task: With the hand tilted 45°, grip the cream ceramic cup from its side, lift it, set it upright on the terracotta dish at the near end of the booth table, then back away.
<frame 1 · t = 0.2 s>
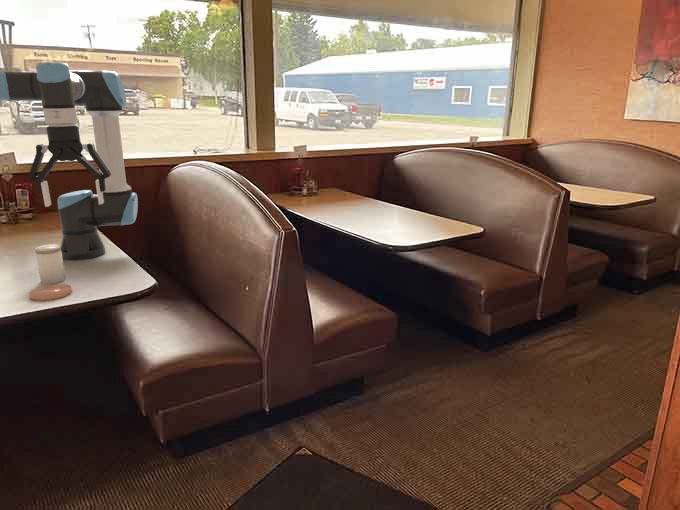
hand: (75, 204, 143), 28 cm above the table, tool pointing down, fingers open, 13 cm apart
cup: (53, 280, 165), on the table
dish: (51, 294, 154), on the table
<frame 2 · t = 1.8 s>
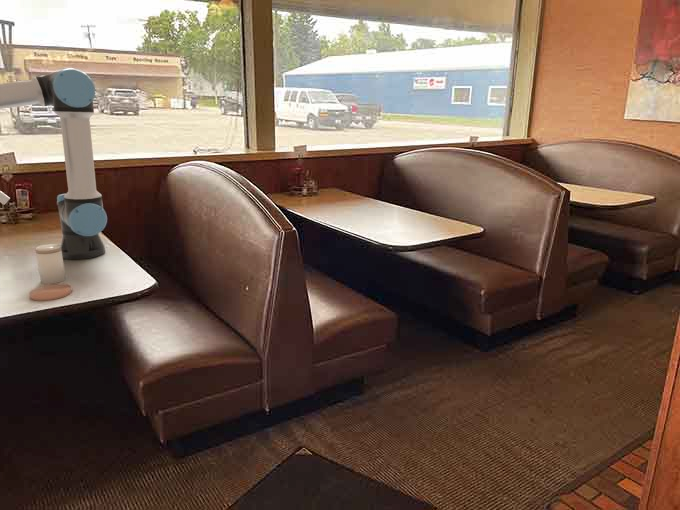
nothing on the table moved.
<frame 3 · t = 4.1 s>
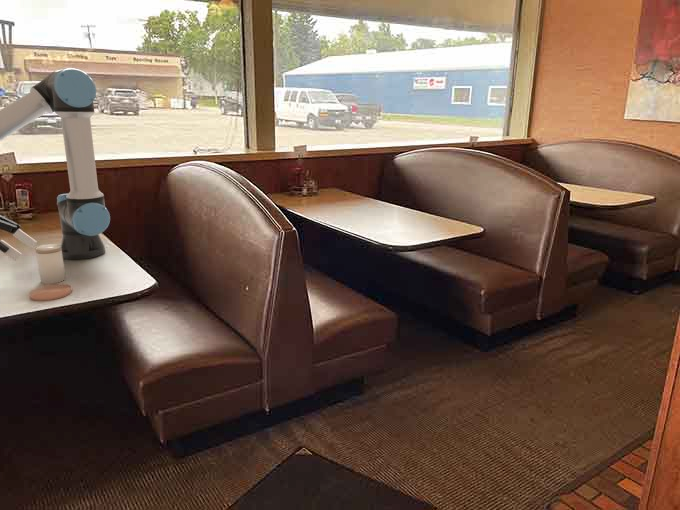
hand: (26, 251, 160), 10 cm above the table, tool tilted 45°, fingers open, 13 cm apart
nothing on the table moved.
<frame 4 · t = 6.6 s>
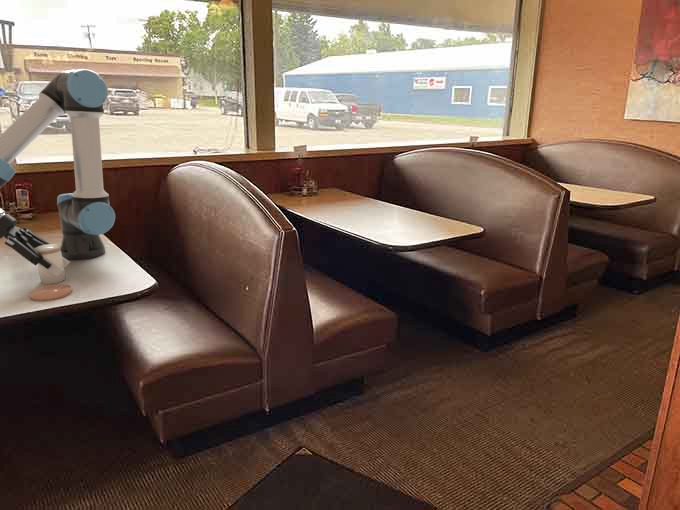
hand: (63, 269, 165), 4 cm above the table, tool tilted 45°, fingers closed on cup, 7 cm apart
cup: (53, 280, 165), on the table, touching gripper
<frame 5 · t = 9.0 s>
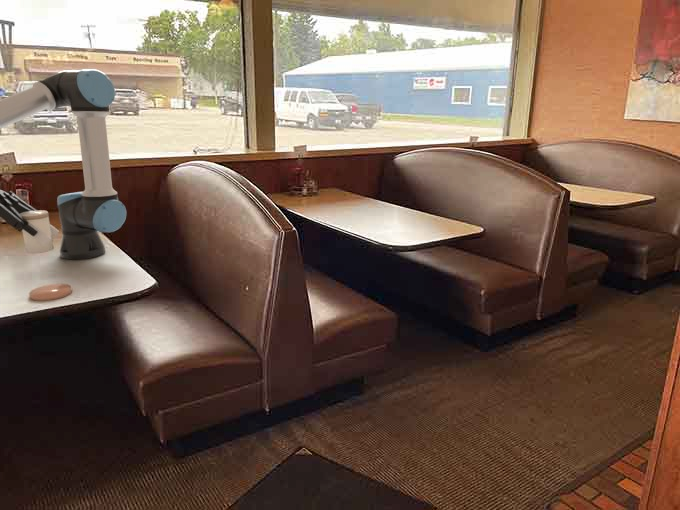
hand: (51, 237, 150), 17 cm above the table, tool tilted 45°, fingers closed on cup, 7 cm apart
cup: (40, 250, 150), point 13 cm above the table, touching gripper
when the fingers open (6 cm above the table, at t = 11.4 s): cup drops 1 cm, resting on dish.
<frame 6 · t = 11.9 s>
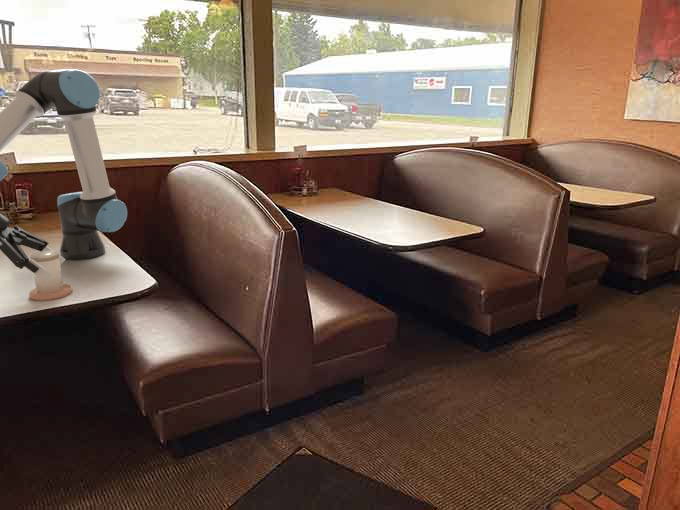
hand: (56, 269, 152), 7 cm above the table, tool tilted 45°, fingers open, 13 cm apart
cup: (50, 289, 154), point 1 cm above the table, touching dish
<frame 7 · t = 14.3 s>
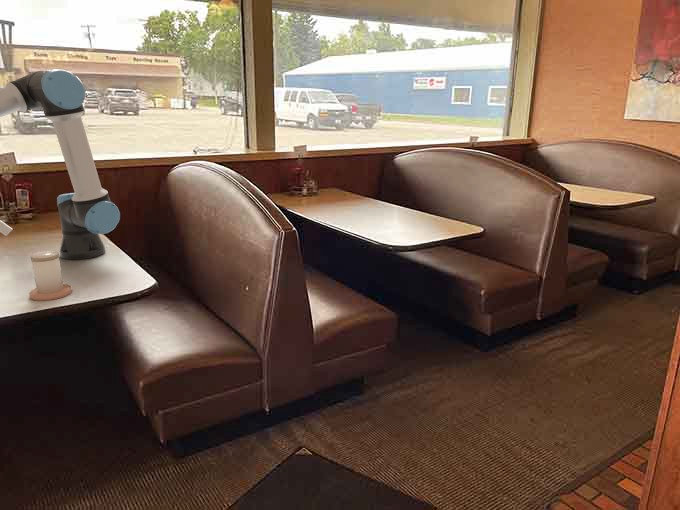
hand: (0, 238, 146), 18 cm above the table, tool tilted 45°, fingers open, 13 cm apart
nothing on the table moved.
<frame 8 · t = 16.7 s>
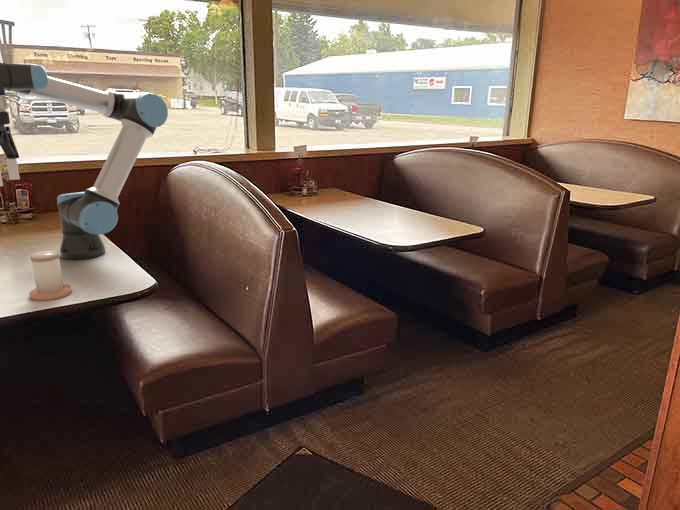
hand: (6, 182, 159), 31 cm above the table, tool pointing down, fingers open, 13 cm apart
nothing on the table moved.
at the end: cup 0.5 cm off-centre on the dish, point 1.2 cm above the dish's base; cup tilted 0°; the gripper is holding nothing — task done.
